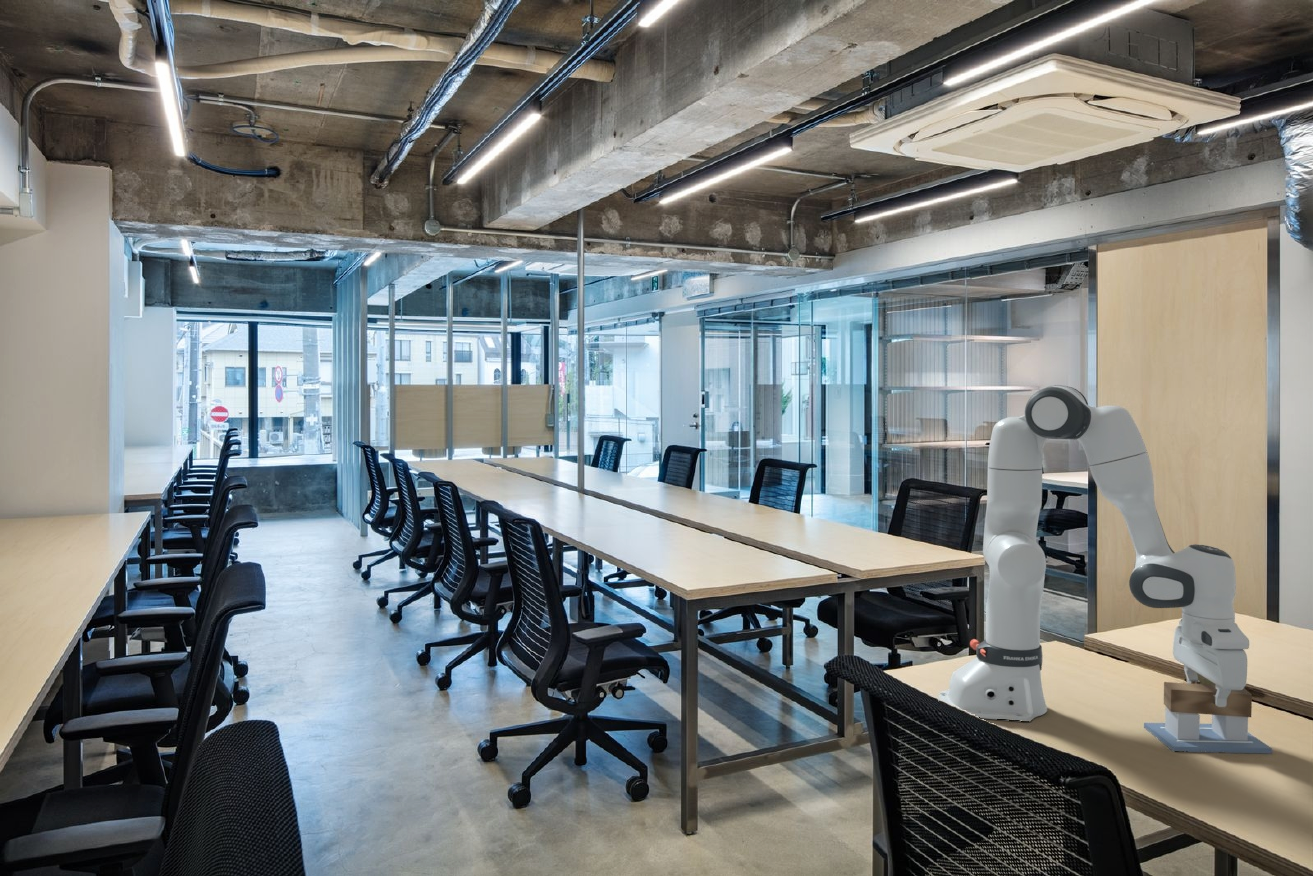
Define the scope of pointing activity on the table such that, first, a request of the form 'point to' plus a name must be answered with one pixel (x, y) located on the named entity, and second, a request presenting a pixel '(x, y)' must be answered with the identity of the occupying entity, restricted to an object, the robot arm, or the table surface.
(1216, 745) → the bridge base
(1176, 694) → the walnut beam
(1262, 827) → the table surface
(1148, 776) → the table surface
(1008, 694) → the robot arm
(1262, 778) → the table surface
